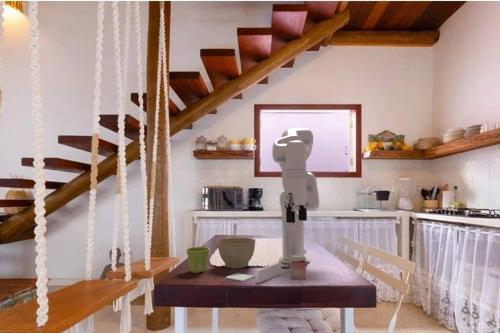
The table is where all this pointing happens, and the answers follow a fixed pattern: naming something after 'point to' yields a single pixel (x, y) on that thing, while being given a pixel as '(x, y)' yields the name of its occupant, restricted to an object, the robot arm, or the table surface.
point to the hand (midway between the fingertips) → (296, 221)
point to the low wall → (268, 272)
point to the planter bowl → (236, 251)
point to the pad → (240, 277)
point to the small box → (298, 266)
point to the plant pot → (197, 258)
